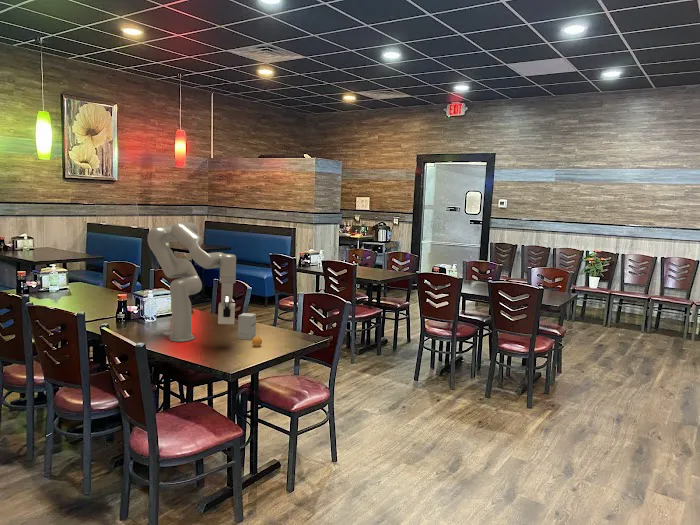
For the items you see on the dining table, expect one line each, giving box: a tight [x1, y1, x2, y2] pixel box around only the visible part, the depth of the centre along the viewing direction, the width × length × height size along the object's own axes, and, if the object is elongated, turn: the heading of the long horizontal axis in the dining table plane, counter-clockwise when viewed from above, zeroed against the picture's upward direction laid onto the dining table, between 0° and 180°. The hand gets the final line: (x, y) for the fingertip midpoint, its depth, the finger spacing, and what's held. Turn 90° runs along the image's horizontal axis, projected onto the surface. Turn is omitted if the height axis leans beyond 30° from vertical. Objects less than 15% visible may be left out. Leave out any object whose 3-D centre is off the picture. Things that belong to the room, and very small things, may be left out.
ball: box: [251, 335, 263, 347], centre depth 272 cm, size 5×5×5 cm
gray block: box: [217, 302, 236, 325], centre depth 268 cm, size 8×8×9 cm
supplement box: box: [237, 312, 257, 341], centre depth 287 cm, size 7×7×13 cm
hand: (226, 314), depth 268 cm, fingers closed on gray block, 7 cm apart
